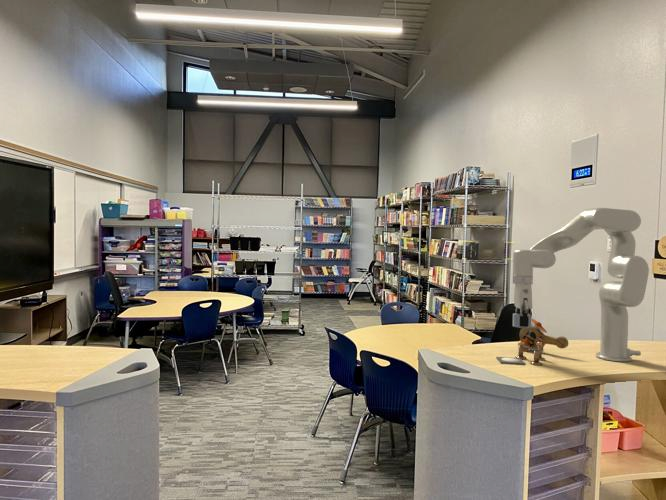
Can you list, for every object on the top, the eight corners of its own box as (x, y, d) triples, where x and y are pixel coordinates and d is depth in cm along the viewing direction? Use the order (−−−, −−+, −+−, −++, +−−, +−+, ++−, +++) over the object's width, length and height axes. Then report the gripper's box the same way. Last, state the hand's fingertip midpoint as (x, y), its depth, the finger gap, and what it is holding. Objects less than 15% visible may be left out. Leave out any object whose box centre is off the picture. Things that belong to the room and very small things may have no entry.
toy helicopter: (525, 347, 210) (525, 316, 210) (572, 356, 194) (572, 323, 194) (515, 349, 205) (515, 318, 205) (562, 358, 189) (563, 325, 189)
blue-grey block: (527, 325, 191) (528, 313, 191) (532, 328, 185) (532, 315, 185) (511, 325, 192) (511, 312, 192) (515, 327, 186) (515, 314, 186)
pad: (519, 359, 186) (519, 357, 186) (525, 364, 177) (525, 363, 177) (496, 358, 187) (496, 356, 187) (500, 363, 179) (501, 361, 179)
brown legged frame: (542, 358, 189) (543, 341, 189) (553, 366, 176) (553, 347, 176) (514, 356, 191) (514, 339, 191) (522, 364, 178) (523, 346, 178)
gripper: (538, 282, 179) (537, 328, 179) (526, 279, 196) (525, 322, 196) (518, 281, 180) (517, 328, 180) (508, 278, 197) (507, 321, 197)
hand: (521, 324), depth 188 cm, fingers closed on blue-grey block, 6 cm apart
